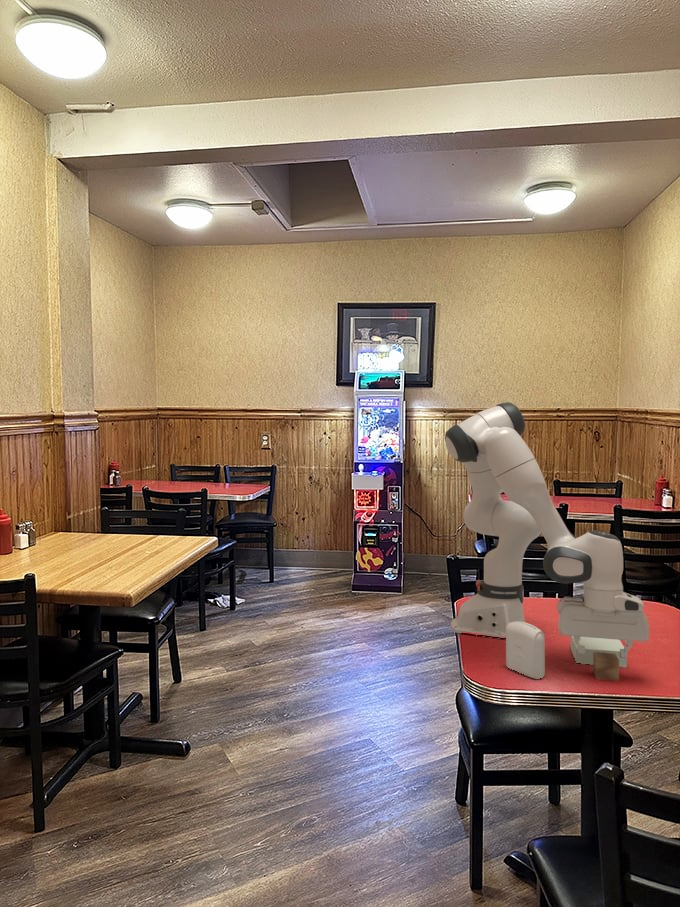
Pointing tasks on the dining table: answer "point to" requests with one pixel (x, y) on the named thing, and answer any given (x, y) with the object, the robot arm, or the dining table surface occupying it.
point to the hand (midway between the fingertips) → (602, 655)
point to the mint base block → (597, 649)
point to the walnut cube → (606, 666)
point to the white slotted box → (525, 649)
